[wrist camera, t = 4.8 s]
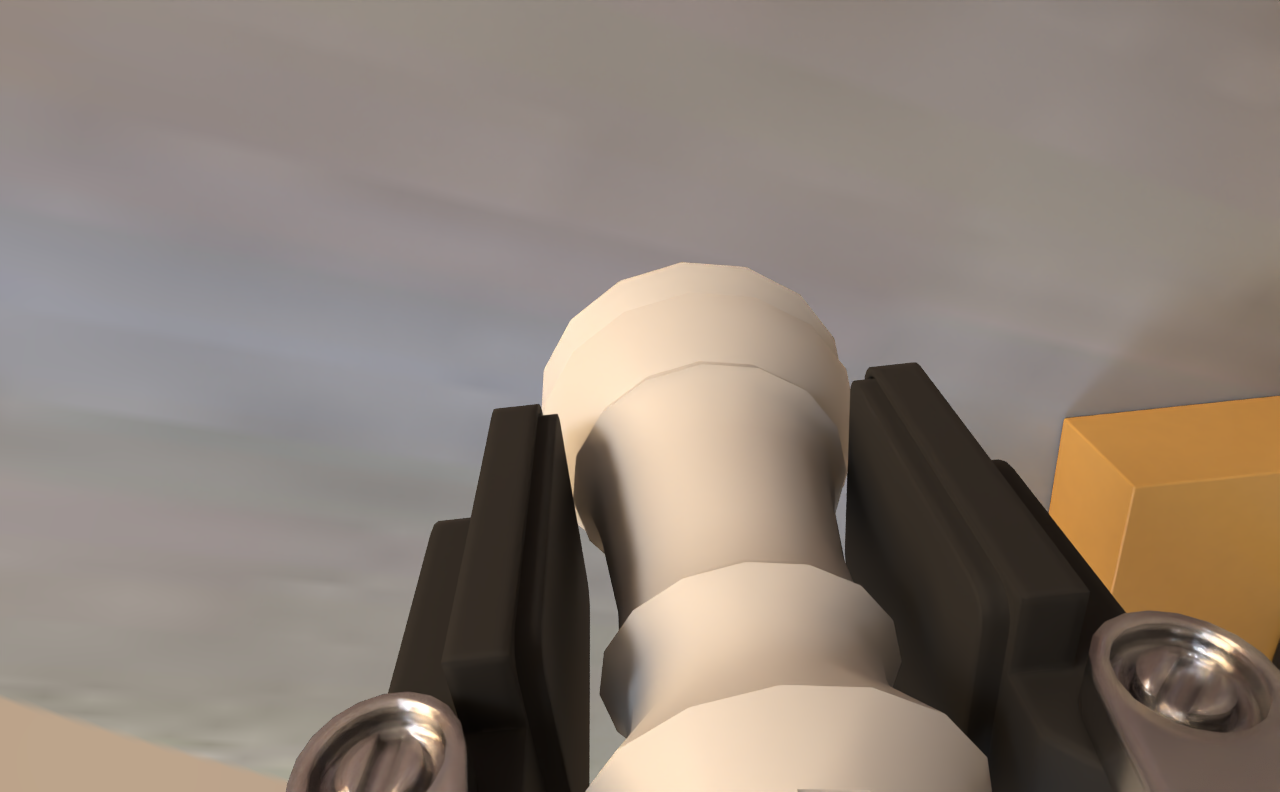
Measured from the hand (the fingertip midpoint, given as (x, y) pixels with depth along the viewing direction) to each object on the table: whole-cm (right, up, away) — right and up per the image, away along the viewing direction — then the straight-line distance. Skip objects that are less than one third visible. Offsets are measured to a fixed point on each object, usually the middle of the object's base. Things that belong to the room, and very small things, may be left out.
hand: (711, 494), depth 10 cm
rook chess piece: (0, +1, +3) cm, 3 cm away
